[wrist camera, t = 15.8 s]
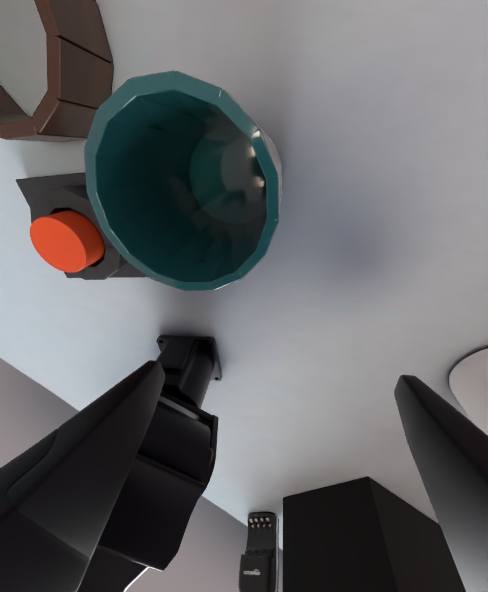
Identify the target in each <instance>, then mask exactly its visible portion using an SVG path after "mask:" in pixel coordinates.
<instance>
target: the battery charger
mask: <svg viewBox="0 0 488 592" xmlns="http://www.w3.org/2000/svg"><path fill="white" fill-rule="evenodd" d="M278 533H279V519H278V517H277V516H275V515H273V514H270V513H255V514H249V515H248V540H247V547H246V552H245V555H241V562H240V572H239V591H240V592H278V576H279V575H278V574H279V573H278V572H279V545H278Z"/></svg>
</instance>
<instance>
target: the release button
mask: <svg viewBox="0 0 488 592" xmlns="http://www.w3.org/2000/svg"><path fill="white" fill-rule="evenodd" d="M30 237H31V240H32V243H33V245H34V247H35V249H36V250H37V252H38V253H39V254H40V256H41V257H42V258H43V259H44V260H45V261H46V262H48V263H49V264H50V265H52V266H53V267H55V268H57V269H59V270H61V271H64V272H78V271H80V270H82V269H84V268H85V267H87V266H89V265H91V264H92V263H94V262H96V261H98V260H99V259H100V258H101V257H102V256H103V254H104V250H105V243H104V240H103V238H102V235H101V233H100V231H99V229H98V228H97V227H96V226H95V225H94V224H93V223H92V222H91V221H90V219H89V218H87V217H86V216H84V215H82V214H80V213H78V212H75V211H63V212H59V213H55V214H52V215H48V216H44V217H40V218H38V219H36V220H35V221H34V222H33V223H32V225H31V227H30Z"/></svg>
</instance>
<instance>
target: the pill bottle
mask: <svg viewBox="0 0 488 592" xmlns="http://www.w3.org/2000/svg"><path fill="white" fill-rule="evenodd" d="M449 385H450V388H451V390H452V392H453V394H454V396H455V397H456V399H457V400H458V402H459V403H460V405H461V406H462V408H463V409H464V411H465V412H466V413H467V415H468V416H469V418H470V419H471V421H472V422H473V424H475V425H476V426H477V427H478V428H479V429H481V430H482V431H483V432H484V433H485V434H487V435H488V348H487V349H484V350H481V351H479V352H476V353H474V354H472V355H470V356H468V357H467V358H465V359H464V360H462V361H461V362H460V363H458V364H457V365H456V366H455V367H454V369H453V370H452V372H451V374H450V377H449Z"/></svg>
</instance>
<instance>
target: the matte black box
mask: <svg viewBox="0 0 488 592" xmlns="http://www.w3.org/2000/svg"><path fill="white" fill-rule="evenodd" d="M283 592H466V590H465V587H464V585H463V582H462V580H461V577H460V575H459V572H458V570H457V567H456V565H455V562H454V559H453V557H452V554H451V552H450V549H449V547H448V544H447V542H446V539H445V537H444V534H443V531H442V529H441V526H440V525H438V524H437V523H436V522H434V521H433V520H431V519H430V518H428V517H427V516H425V515H424V514H422V513H421V512H419V511H418V510H416V509H415V508H413V507H412V506H410V505H409V504H407V503H406V502H405V501H403V500H402V499H400V498H399V497H397V496H396V495H394V494H393V493H391V492H390V491H388V490H387V489H385V488H384V487H382V486H381V485H379V484H378V483H377V482H375V481H374V480H372V479H371V478H369V477H367V478H363V479H359V480H355V481H351V482H346V483H342V484H338V485H334V486H330V487H326V488H322V489H318V490H314V491H310V492H306V493H302V494H298V495H293V496H289V497H285V498H283Z"/></svg>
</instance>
